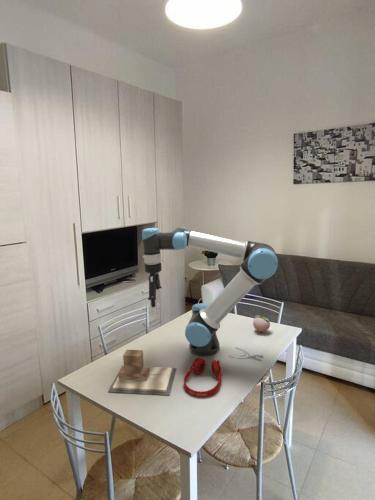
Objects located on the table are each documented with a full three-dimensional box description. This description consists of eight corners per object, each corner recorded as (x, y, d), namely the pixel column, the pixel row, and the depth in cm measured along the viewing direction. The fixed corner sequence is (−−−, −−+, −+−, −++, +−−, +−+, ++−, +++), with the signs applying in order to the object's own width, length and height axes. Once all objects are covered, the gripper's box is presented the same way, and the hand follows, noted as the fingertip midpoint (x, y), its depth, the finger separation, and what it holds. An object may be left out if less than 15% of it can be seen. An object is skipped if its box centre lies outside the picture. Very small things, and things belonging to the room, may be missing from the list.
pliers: (235, 345, 166) (265, 352, 158) (235, 348, 166) (265, 355, 159) (228, 354, 157) (259, 361, 150) (228, 357, 157) (259, 365, 150)
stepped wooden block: (149, 373, 142) (148, 350, 140) (146, 380, 137) (145, 356, 135) (122, 372, 143) (120, 349, 141) (118, 379, 138) (117, 355, 136)
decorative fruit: (250, 333, 181) (250, 316, 179) (255, 327, 187) (255, 311, 185) (266, 337, 176) (267, 319, 174) (271, 331, 183) (272, 314, 180)
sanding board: (176, 368, 148) (176, 365, 148) (169, 395, 129) (169, 392, 129) (122, 366, 151) (122, 363, 150) (107, 392, 132) (107, 389, 132)
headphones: (194, 365, 149) (179, 398, 132) (193, 352, 147) (178, 384, 129) (226, 371, 145) (215, 405, 127) (225, 357, 142) (215, 390, 125)
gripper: (148, 257, 160) (152, 298, 164) (139, 270, 135) (143, 318, 139) (164, 256, 159) (167, 297, 164) (157, 269, 135) (161, 318, 139)
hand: (156, 307), depth 152 cm, fingers open, 13 cm apart
